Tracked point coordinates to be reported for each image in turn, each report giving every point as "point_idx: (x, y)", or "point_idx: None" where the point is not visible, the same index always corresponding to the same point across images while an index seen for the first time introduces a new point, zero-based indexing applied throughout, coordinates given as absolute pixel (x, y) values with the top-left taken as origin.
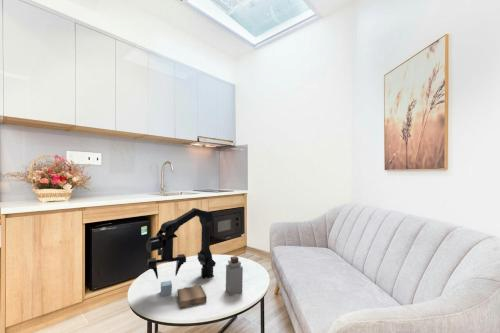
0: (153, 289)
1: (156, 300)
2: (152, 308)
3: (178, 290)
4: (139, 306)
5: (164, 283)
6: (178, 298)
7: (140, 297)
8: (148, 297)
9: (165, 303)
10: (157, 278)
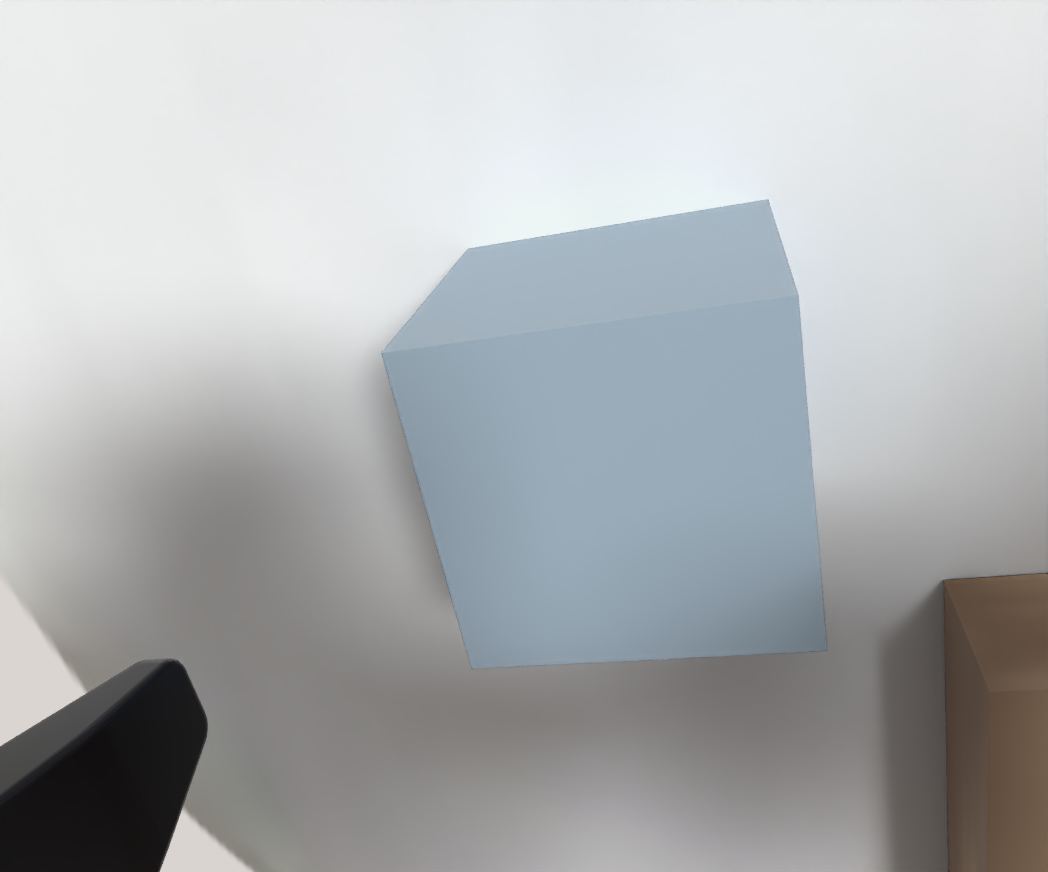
0: (219, 44)
1: (443, 630)
2: (425, 840)
3: (1009, 747)
4: None
5: (539, 494)
6: (951, 755)
7: (44, 411)
8: (228, 462)
9: (649, 781)
10: (187, 760)
